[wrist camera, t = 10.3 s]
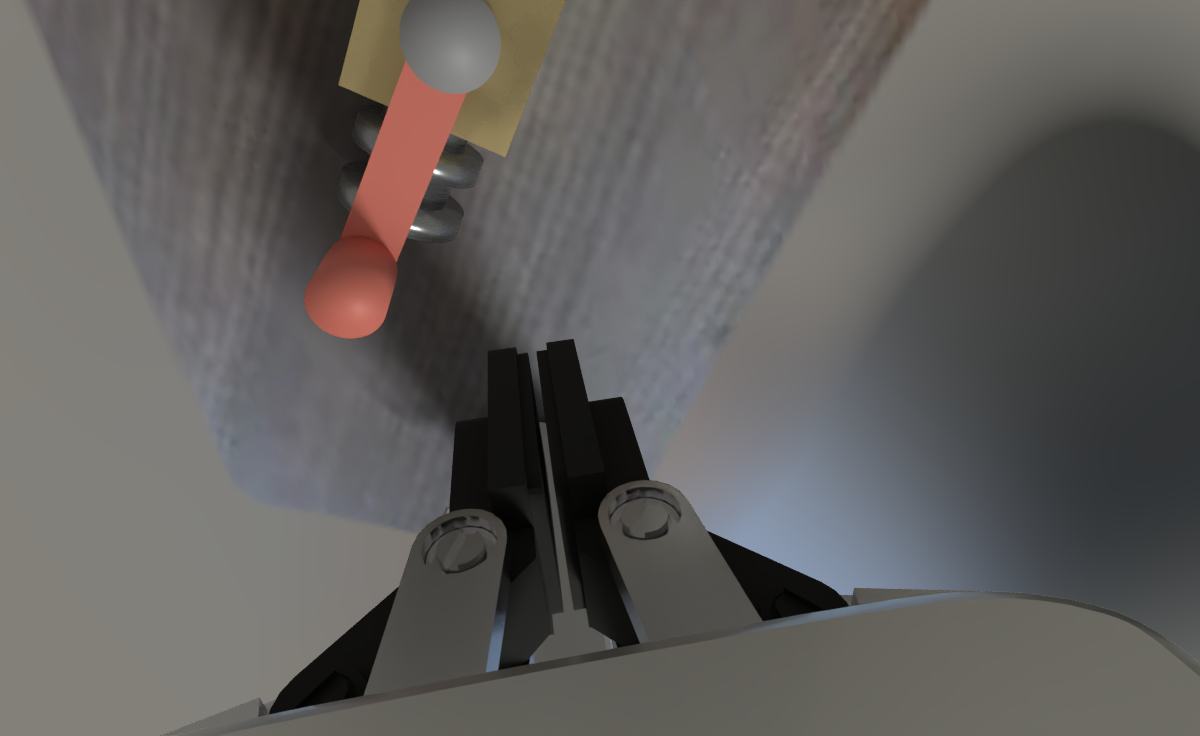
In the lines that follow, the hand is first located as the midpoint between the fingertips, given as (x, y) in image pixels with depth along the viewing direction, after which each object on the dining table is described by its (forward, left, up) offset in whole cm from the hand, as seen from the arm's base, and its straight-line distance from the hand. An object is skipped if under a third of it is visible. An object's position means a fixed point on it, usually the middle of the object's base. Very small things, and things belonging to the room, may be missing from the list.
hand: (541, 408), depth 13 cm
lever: (+1, -4, -18) cm, 18 cm away
